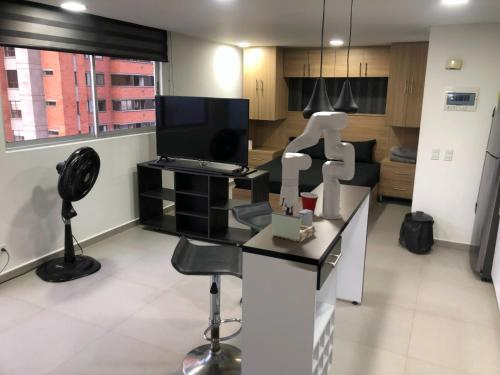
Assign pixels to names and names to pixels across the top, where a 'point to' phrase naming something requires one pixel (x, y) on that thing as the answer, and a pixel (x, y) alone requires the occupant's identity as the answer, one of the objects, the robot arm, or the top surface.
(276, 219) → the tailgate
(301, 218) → the medicine box
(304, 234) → the beige square tray
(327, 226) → the top surface
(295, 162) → the robot arm
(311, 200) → the plastic cup
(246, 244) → the top surface
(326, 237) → the top surface
